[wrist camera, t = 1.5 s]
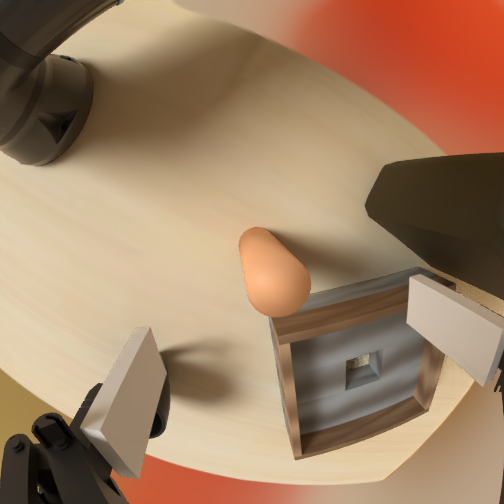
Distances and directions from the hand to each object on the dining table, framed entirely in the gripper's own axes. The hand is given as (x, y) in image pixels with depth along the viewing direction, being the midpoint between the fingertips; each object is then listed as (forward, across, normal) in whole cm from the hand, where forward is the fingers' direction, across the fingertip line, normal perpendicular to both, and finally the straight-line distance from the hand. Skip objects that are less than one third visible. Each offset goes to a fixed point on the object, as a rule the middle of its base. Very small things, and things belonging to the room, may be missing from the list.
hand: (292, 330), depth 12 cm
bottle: (+19, +21, +1) cm, 28 cm away
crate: (+19, +12, -18) cm, 28 cm away
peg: (+19, 0, 0) cm, 19 cm away
